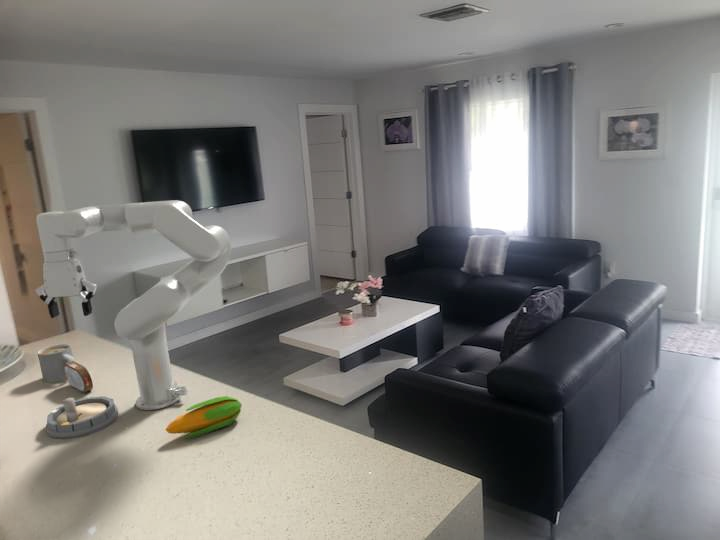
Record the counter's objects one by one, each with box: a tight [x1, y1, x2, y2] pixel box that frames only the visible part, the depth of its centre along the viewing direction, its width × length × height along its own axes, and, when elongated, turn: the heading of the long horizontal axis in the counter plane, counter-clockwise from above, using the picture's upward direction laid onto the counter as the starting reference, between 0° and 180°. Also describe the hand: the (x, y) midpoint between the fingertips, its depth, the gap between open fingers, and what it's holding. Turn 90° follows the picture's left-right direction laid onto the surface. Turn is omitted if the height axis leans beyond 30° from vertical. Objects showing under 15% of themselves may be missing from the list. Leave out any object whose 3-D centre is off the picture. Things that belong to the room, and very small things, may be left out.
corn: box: [164, 395, 243, 439], centre depth 143 cm, size 7×8×20 cm
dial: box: [57, 397, 106, 423], centre depth 152 cm, size 12×12×7 cm
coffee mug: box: [37, 343, 76, 384], centre depth 186 cm, size 13×10×10 cm
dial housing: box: [45, 396, 119, 440], centre depth 153 cm, size 18×18×4 cm
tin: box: [64, 360, 94, 393], centre depth 176 cm, size 15×3×8 cm, turn 49°
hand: (71, 315), depth 156 cm, fingers open, 9 cm apart
